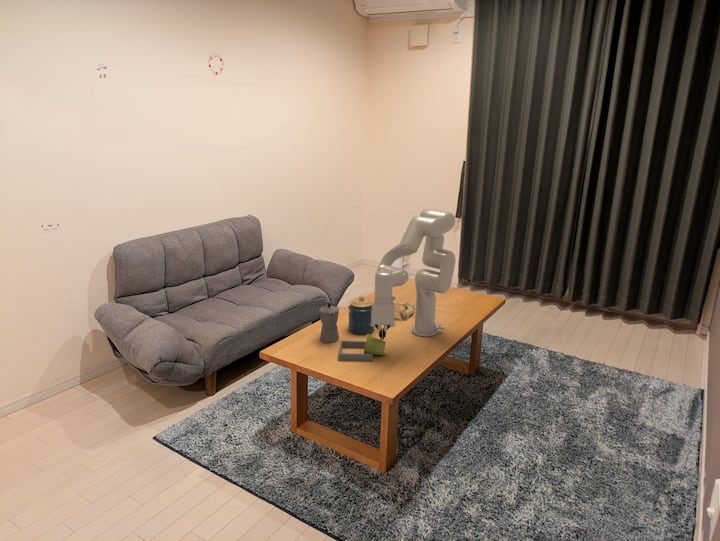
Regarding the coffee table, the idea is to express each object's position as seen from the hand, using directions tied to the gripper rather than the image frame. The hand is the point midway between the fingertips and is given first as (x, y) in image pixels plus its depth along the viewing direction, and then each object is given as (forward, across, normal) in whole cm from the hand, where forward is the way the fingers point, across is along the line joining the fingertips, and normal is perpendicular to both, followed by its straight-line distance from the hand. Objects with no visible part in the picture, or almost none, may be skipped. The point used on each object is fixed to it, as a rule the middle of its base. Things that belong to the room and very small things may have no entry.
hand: (382, 338), depth 226 cm
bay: (+8, +11, 0) cm, 13 cm away
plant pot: (+5, -1, 0) cm, 5 cm away
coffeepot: (+8, +25, -16) cm, 31 cm away
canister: (+8, +10, -27) cm, 30 cm away
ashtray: (+8, -8, -51) cm, 52 cm away
